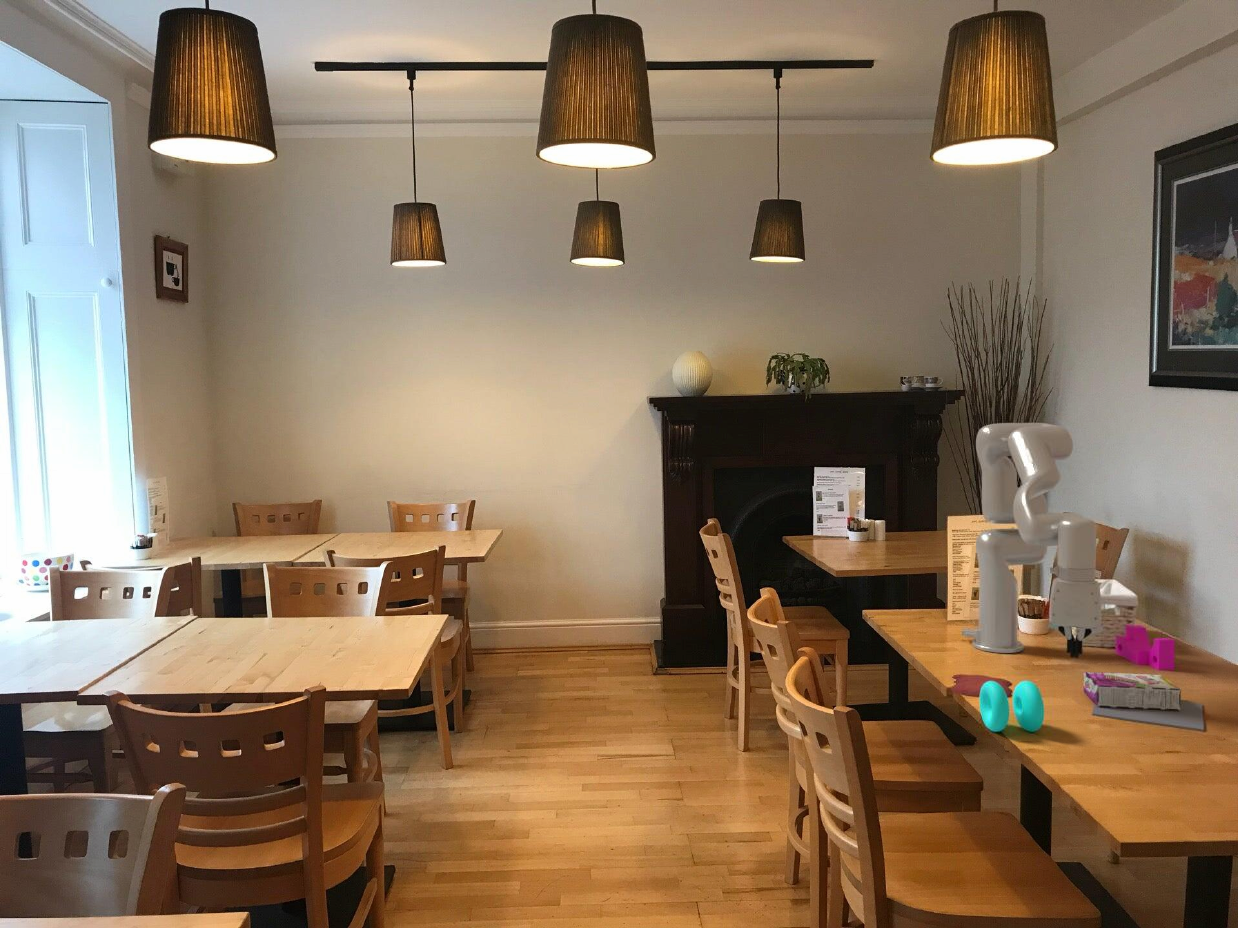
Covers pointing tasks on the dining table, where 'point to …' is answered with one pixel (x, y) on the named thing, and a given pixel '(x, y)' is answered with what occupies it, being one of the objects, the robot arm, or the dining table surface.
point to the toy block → (1146, 648)
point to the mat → (1158, 715)
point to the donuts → (1024, 706)
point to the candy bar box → (1132, 691)
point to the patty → (977, 684)
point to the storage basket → (1112, 614)
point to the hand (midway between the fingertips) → (1074, 656)
